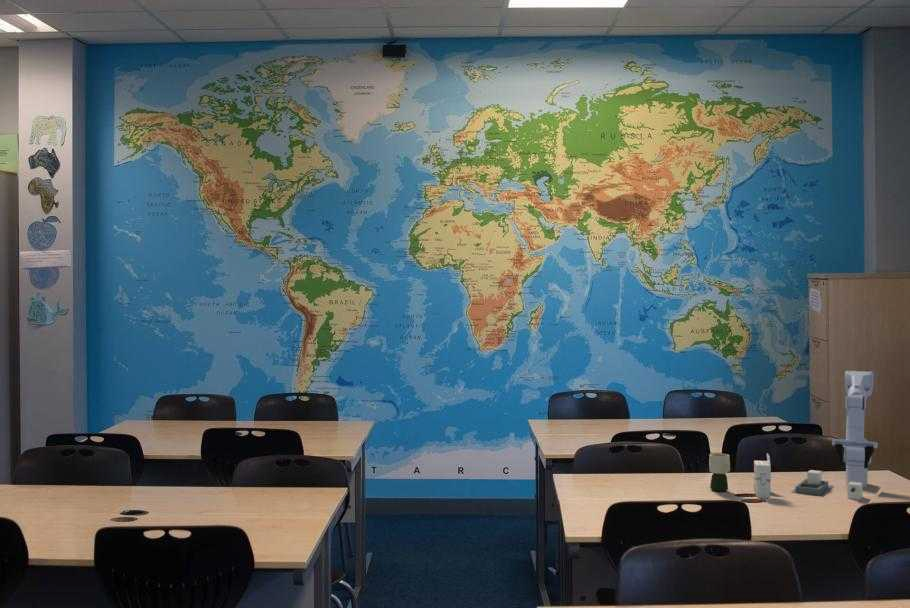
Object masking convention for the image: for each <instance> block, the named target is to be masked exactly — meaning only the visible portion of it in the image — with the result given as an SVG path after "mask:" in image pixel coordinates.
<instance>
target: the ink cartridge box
mask: <svg viewBox="0 0 910 608" xmlns="http://www.w3.org/2000/svg"><path fill="white" fill-rule="evenodd" d="M766 459H767V460H753V470H754V471H753V491H754V492H755V493H754V495H755V497H756V498H758V499H759V498H761V499H771V493H772V492H771V490H772V489H771V479H772V478H771V477H772V476H771V474H772V473H771V471H772V470H771V467H772V466H771V465H772V464H771V457H770V455H769V453H766Z"/></svg>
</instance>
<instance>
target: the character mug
mask: <svg viewBox="0 0 910 608" xmlns="http://www.w3.org/2000/svg"><path fill="white" fill-rule="evenodd" d="M708 456H709V459H708V467H709V469H708V470H709V472H710V473H711V474H712V475H711V479H710V486H709V487H710V489H711V490H712V491H720V492H723V491H728V490H729V484H728V482H729V481H728V476H727V474H728V473H730V472H731V461H730V458H731V457H730V454H726V453H720V452H719V453H709V455H708Z"/></svg>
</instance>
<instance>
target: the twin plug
mask: <svg viewBox="0 0 910 608" xmlns="http://www.w3.org/2000/svg"><path fill="white" fill-rule="evenodd" d="M806 473H807V474H806V479H807V483H811V484H819V485H822V481H823V480H822V479H823V478H822V477H823V476H822V475H823V472H822V470H814V469H810V470H808V471H807V472H806Z"/></svg>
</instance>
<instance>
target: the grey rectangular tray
mask: <svg viewBox="0 0 910 608" xmlns="http://www.w3.org/2000/svg"><path fill="white" fill-rule="evenodd" d="M834 487H835V485H829V481H827V480H822V485H819V484H811V483H807V478H804V479H803V480H802V481H800V483H798V484H796V486H795V488H794V489H793V490H792V491H791V492H790V493H791V494H799V495H807V496H816V497H822V498H823V497H824V496H826V494H828V493H829V492H830V491H831V490H832V489H833V488H834Z"/></svg>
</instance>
